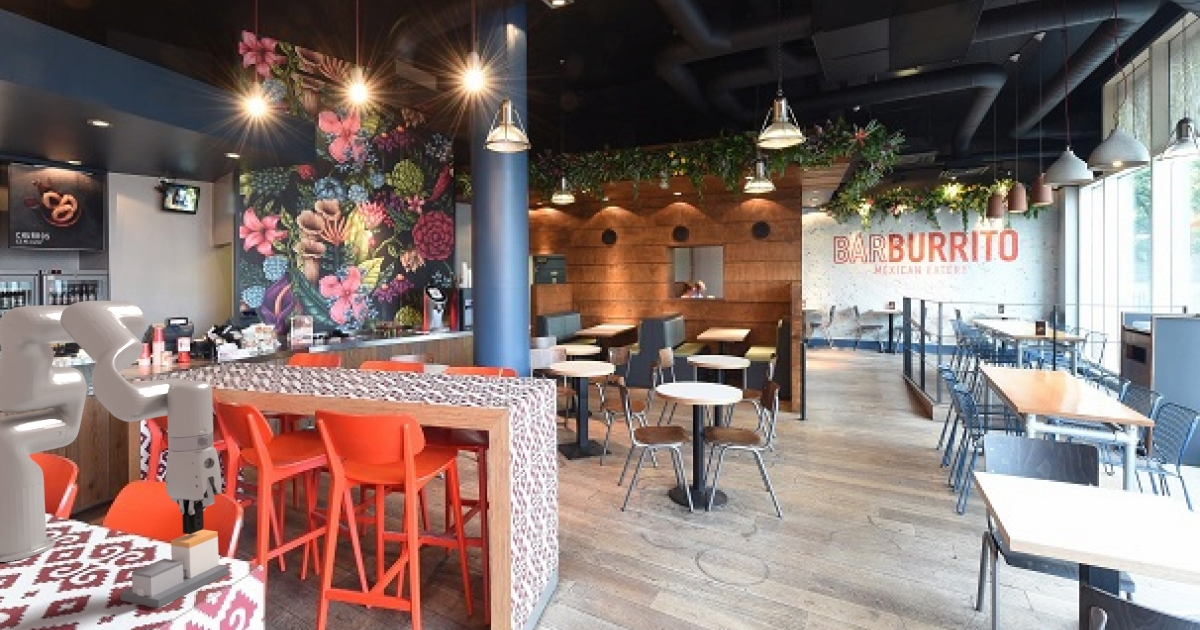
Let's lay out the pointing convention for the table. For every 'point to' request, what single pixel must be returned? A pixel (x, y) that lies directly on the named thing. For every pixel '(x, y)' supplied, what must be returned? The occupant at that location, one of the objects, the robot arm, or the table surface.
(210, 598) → the table surface
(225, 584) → the table surface
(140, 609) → the table surface
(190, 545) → the block
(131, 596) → the rail board
